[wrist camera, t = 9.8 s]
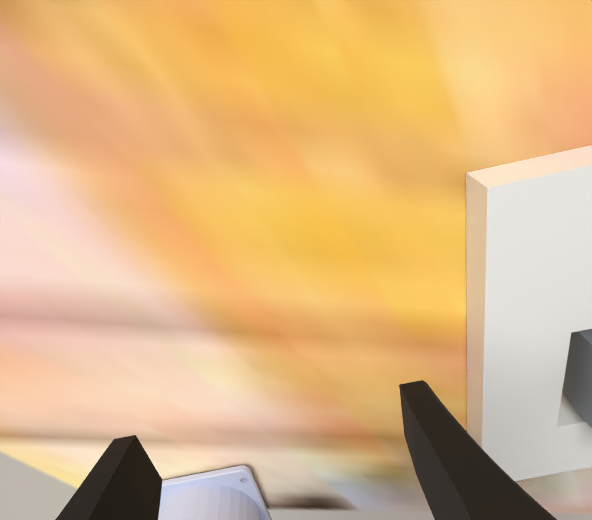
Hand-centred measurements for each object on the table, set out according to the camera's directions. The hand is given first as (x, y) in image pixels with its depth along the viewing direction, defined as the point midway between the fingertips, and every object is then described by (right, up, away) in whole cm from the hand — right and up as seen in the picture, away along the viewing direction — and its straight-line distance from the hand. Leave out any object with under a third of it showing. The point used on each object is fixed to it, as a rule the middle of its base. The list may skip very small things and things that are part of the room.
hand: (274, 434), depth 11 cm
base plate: (+17, +1, +11) cm, 20 cm away
